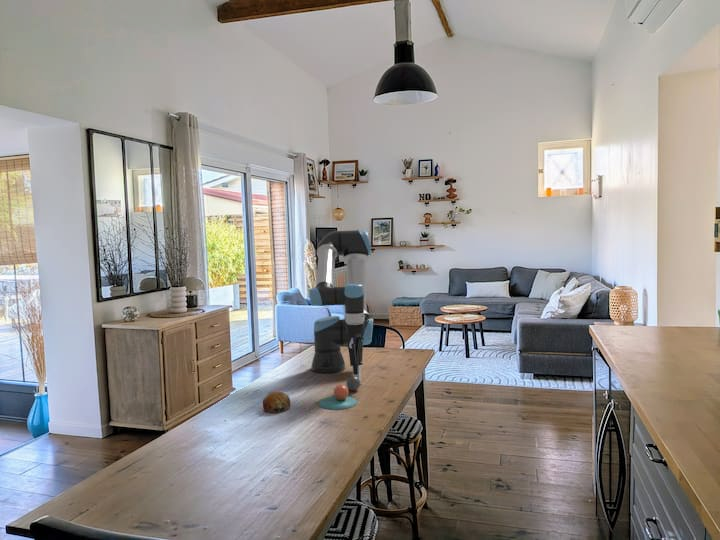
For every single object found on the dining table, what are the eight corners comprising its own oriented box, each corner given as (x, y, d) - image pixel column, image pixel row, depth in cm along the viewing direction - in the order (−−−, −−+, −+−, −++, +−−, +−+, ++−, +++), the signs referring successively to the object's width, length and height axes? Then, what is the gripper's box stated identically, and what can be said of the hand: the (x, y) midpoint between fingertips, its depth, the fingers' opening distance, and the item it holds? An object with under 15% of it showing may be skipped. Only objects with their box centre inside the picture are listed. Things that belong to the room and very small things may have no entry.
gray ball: (345, 375, 208) (343, 389, 208) (349, 376, 203) (347, 390, 202) (358, 376, 210) (357, 390, 209) (362, 377, 205) (361, 391, 204)
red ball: (334, 386, 199) (330, 399, 195) (337, 380, 195) (333, 393, 191) (347, 391, 199) (344, 404, 196) (351, 385, 195) (348, 398, 191)
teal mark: (310, 402, 193) (310, 402, 193) (341, 394, 202) (341, 393, 202) (333, 412, 182) (333, 411, 182) (365, 403, 191) (365, 402, 191)
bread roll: (292, 415, 191) (293, 393, 194) (286, 412, 182) (287, 389, 184) (265, 415, 192) (267, 393, 195) (257, 412, 183) (259, 389, 185)
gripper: (358, 326, 202) (360, 387, 204) (369, 320, 215) (370, 377, 216) (340, 325, 205) (342, 385, 207) (351, 319, 217) (353, 376, 219)
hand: (356, 381), depth 212 cm, fingers closed
